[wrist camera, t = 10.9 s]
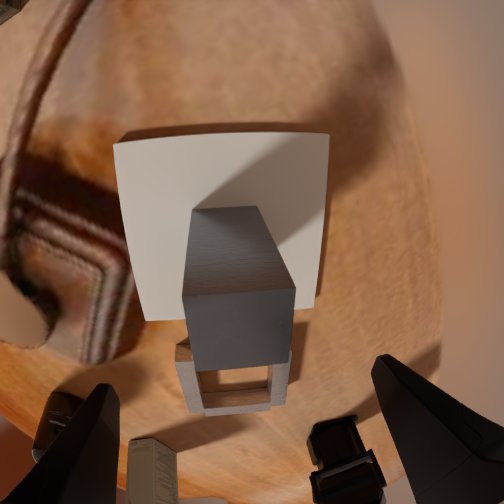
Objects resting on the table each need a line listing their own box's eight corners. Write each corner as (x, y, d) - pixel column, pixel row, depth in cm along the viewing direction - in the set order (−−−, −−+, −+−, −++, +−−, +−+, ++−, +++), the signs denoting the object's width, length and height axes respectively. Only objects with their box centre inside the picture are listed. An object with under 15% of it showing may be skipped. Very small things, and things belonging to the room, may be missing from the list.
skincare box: (127, 439, 31) (122, 518, 20) (153, 436, 31) (151, 520, 20) (154, 457, 34) (154, 527, 24) (178, 454, 34) (182, 528, 23)
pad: (325, 133, 18) (329, 134, 17) (310, 301, 24) (313, 307, 23) (116, 142, 16) (113, 144, 15) (147, 314, 22) (145, 320, 21)
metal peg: (256, 205, 18) (296, 287, 10) (256, 262, 20) (288, 362, 12) (191, 209, 18) (181, 296, 10) (197, 266, 20) (195, 371, 12)
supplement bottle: (76, 388, 25) (53, 483, 15) (109, 420, 29) (99, 506, 18) (38, 391, 25) (13, 473, 15) (70, 422, 29) (56, 498, 18)
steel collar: (287, 329, 25) (292, 345, 23) (280, 393, 29) (284, 408, 27) (174, 338, 23) (172, 355, 22) (190, 401, 28) (190, 416, 26)
